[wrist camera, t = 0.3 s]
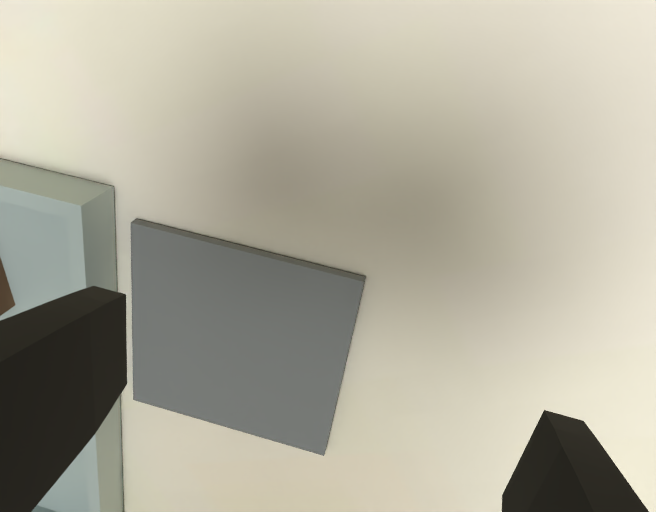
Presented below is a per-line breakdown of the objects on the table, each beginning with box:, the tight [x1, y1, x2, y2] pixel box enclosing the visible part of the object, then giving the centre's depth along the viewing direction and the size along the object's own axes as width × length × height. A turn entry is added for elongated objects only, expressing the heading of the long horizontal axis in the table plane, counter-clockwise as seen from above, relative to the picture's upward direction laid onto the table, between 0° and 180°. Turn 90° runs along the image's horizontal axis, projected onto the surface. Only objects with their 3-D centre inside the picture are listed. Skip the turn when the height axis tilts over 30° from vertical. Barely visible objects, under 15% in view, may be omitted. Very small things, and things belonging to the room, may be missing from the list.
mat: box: [131, 219, 366, 456], centre depth 22 cm, size 9×9×1 cm
